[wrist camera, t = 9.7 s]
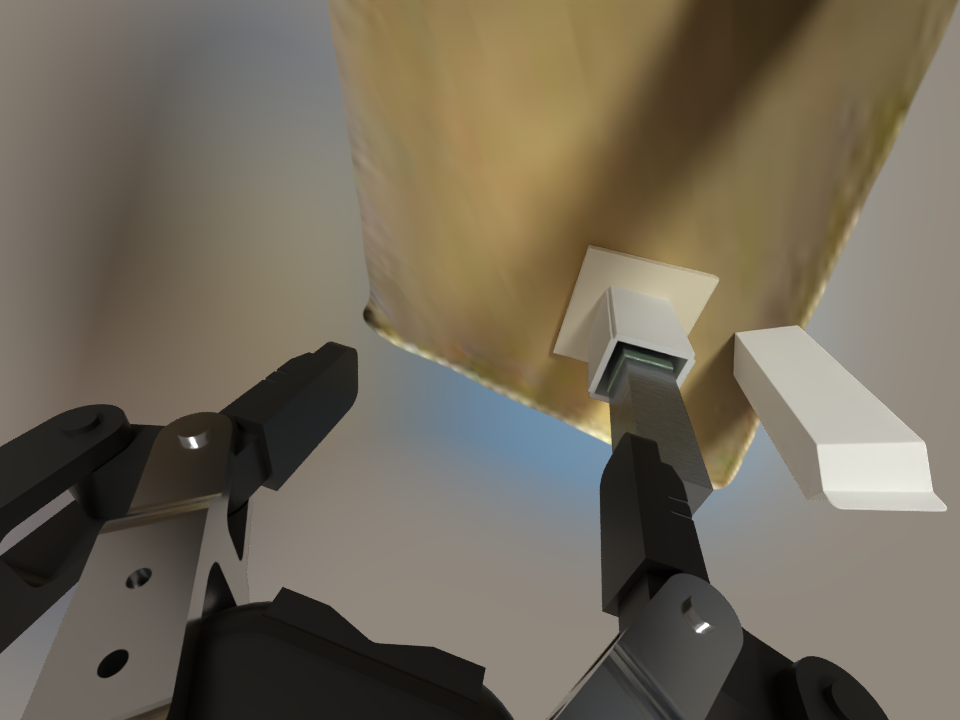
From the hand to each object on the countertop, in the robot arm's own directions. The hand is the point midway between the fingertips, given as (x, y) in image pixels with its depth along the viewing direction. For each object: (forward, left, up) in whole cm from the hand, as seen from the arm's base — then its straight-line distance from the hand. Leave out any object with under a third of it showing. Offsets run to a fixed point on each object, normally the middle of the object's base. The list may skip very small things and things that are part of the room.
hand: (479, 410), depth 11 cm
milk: (+10, +27, -36) cm, 46 cm away
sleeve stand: (+10, +11, -36) cm, 39 cm away
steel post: (+10, +11, -28) cm, 31 cm away
